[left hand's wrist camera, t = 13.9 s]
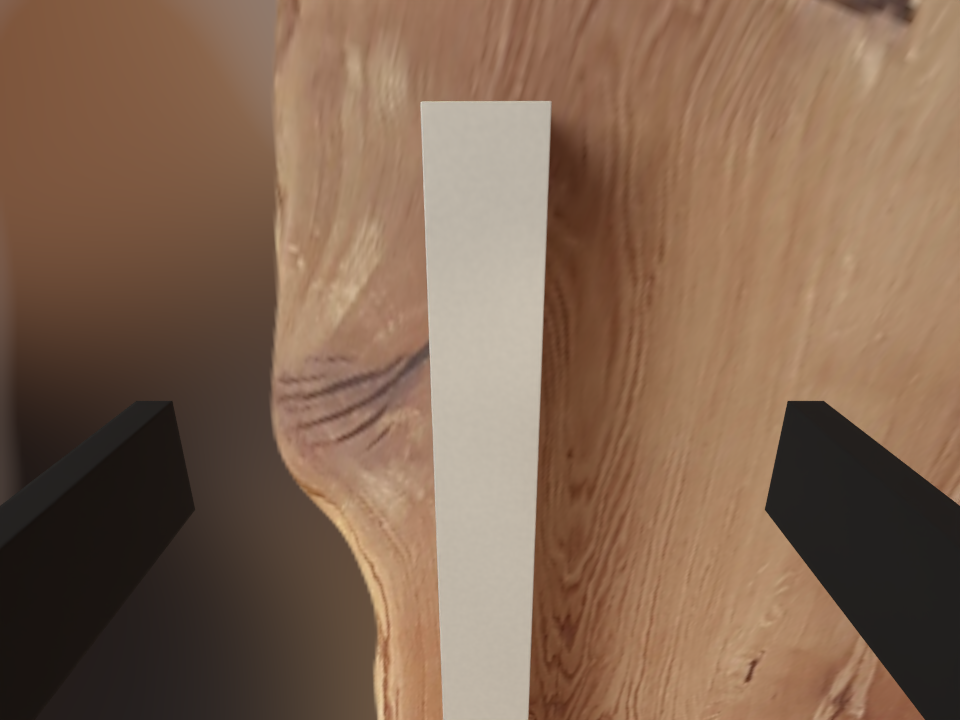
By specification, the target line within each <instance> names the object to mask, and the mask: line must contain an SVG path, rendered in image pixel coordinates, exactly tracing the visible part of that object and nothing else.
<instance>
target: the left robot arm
mask: <svg viewBox="0 0 960 720" xmlns="http://www.w3.org/2000/svg"><path fill="white" fill-rule="evenodd" d="M194 510H195V507H194V502H193V497H192V493H191V488H190V483H189V479H188V474H187V469H186V464H185V459H184V455H183V450H182V445H181V440H180V436H179V431H178V426H177V421H176V417H175V412H174V407H173V402H172V401H136V402H135V403H133V404H132V405H131V406H129V407H128V408H127V409H125V410H124V411H123V412H122V413H120V414H119V415H118V416H116V417H115V418H114V419H112V420H111V421H110V422H109V423H107V424H106V425H105V426H103V427H102V428H101V429H99V430H98V431H97V432H96V433H94V434H93V435H92V436H90V437H89V438H88V439H86V440H85V441H84V442H83V443H81V444H80V445H79V446H77V447H76V448H75V449H74V450H72V451H71V452H70V453H68V454H67V455H66V456H64V457H63V458H62V459H60V460H59V461H58V462H57V463H55V464H54V465H53V466H51V467H50V468H49V469H48V470H46V471H45V472H44V473H42V474H41V475H40V476H38V477H37V478H36V479H35V480H33V481H32V482H31V483H29V484H28V485H27V486H25V487H24V488H23V489H22V490H20V491H19V492H18V493H16V494H15V495H14V496H12V497H11V498H10V499H9V500H7V501H6V502H5V503H3V504H2V505H1V506H0V720H35V719H36V718H37V716H38V715H39V714H40V712H41V711H42V710H43V708H44V707H45V706H46V704H47V703H48V702H49V700H50V699H51V698H52V697H53V695H54V694H55V693H56V691H57V690H58V689H59V687H60V686H61V685H62V683H63V682H64V681H65V680H66V678H67V677H68V676H69V674H70V673H71V672H72V670H73V669H74V668H75V666H76V665H77V664H78V663H79V661H80V660H81V659H82V657H83V656H84V655H85V653H86V652H87V651H88V649H89V648H90V647H91V645H92V644H93V643H94V642H95V640H96V639H97V638H98V636H99V635H100V634H101V632H102V631H103V630H104V628H105V627H106V626H107V624H108V623H109V622H110V621H111V619H112V618H113V617H114V615H115V614H116V613H117V611H118V610H119V609H120V607H121V606H122V605H123V604H124V602H125V601H126V600H127V598H128V597H129V596H130V594H131V593H132V592H133V590H134V589H135V588H136V586H137V585H138V584H139V583H140V581H141V580H142V579H143V577H144V576H145V575H146V573H147V572H148V571H149V569H150V568H151V567H152V566H153V564H154V563H155V562H156V560H157V559H158V558H159V556H160V555H161V554H162V552H163V551H164V550H165V548H166V547H167V546H168V545H169V543H170V542H171V541H172V539H173V538H174V537H175V535H176V534H177V533H178V531H179V530H180V529H181V528H182V526H183V525H184V524H185V522H186V521H187V520H188V518H189V517H190V516H191V514H192V513H193V512H194ZM765 510H766V512H767V513H768V514H769V516H770V517H771V518H772V520H773V521H774V522H775V524H776V525H777V526H778V528H779V529H780V530H781V531H782V533H783V534H784V535H785V537H786V538H787V539H788V541H789V542H790V543H791V545H792V546H793V547H794V548H795V550H796V551H797V552H798V554H799V555H800V556H801V558H802V559H803V560H804V562H805V563H806V564H807V566H808V567H809V568H810V569H811V571H812V572H813V573H814V575H815V576H816V577H817V579H818V580H819V581H820V583H821V584H822V585H823V586H824V588H825V589H826V590H827V592H828V593H829V594H830V596H831V597H832V598H833V600H834V601H835V602H836V604H837V605H838V606H839V607H840V609H841V610H842V611H843V613H844V614H845V615H846V617H847V618H848V619H849V621H850V622H851V623H852V625H853V626H854V627H855V628H856V630H857V631H858V632H859V634H860V635H861V636H862V638H863V639H864V640H865V642H866V643H867V644H868V645H869V647H870V648H871V649H872V651H873V652H874V653H875V655H876V656H877V657H878V659H879V660H880V661H881V663H882V664H883V665H884V666H885V668H886V669H887V670H888V672H889V673H890V674H891V676H892V677H893V678H894V680H895V681H896V682H897V683H898V685H899V686H900V687H901V689H902V690H903V691H904V693H905V694H906V695H907V697H908V698H909V699H910V701H911V702H912V703H913V704H914V706H915V707H916V708H917V710H918V711H919V712H920V714H921V715H922V716H923V718H924V719H925V720H960V506H959V505H958V504H957V503H955V502H954V501H953V500H951V499H950V498H949V497H948V496H946V495H945V494H944V493H942V492H941V491H940V490H938V489H937V488H936V487H935V486H933V485H932V484H931V483H929V482H928V481H927V480H925V479H924V478H923V477H922V476H920V475H919V474H918V473H916V472H915V471H914V470H912V469H911V468H910V467H909V466H907V465H906V464H905V463H903V462H902V461H901V460H900V459H898V458H897V457H896V456H894V455H893V454H892V453H890V452H889V451H888V450H887V449H885V448H884V447H883V446H881V445H880V444H879V443H877V442H876V441H875V440H874V439H872V438H871V437H870V436H868V435H867V434H866V433H864V432H863V431H862V430H861V429H859V428H858V427H857V426H855V425H854V424H853V423H851V422H850V421H849V420H848V419H846V418H845V417H844V416H842V415H841V414H840V413H839V412H837V411H836V410H835V409H833V408H832V407H831V406H829V405H828V404H827V403H826V402H824V401H788V402H787V407H786V412H785V417H784V421H783V426H782V431H781V436H780V440H779V445H778V450H777V455H776V459H775V464H774V469H773V474H772V478H771V483H770V488H769V493H768V497H767V502H766V507H765Z"/></svg>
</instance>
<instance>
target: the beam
mask: <svg viewBox="0 0 960 720" xmlns="http://www.w3.org/2000/svg"><path fill="white" fill-rule="evenodd" d="M551 110H552V102H551V101H422V102H421V130H422V157H423V184H424V211H425V238H426V265H427V293H428V320H429V347H430V374H431V401H432V428H433V455H434V482H435V509H436V536H437V563H438V591H439V618H440V645H441V672H442V699H443V720H528V717H529V691H530V665H531V638H532V612H533V585H534V559H535V533H536V506H537V480H538V454H539V427H540V401H541V374H542V348H543V322H544V295H545V269H546V242H547V216H548V190H549V163H550V137H551Z"/></svg>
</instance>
